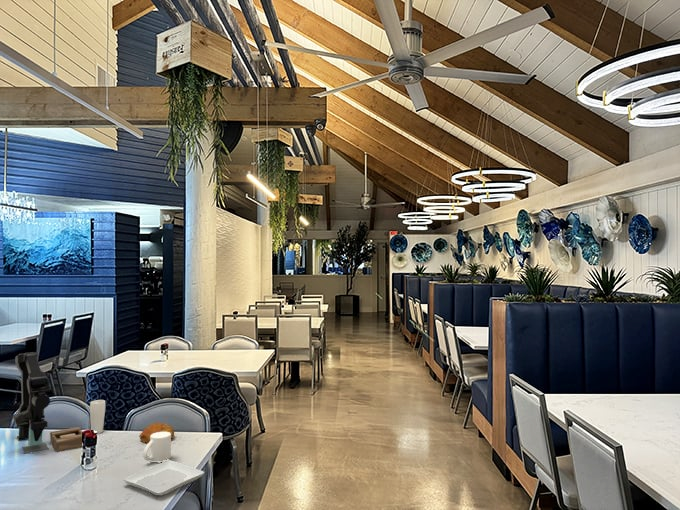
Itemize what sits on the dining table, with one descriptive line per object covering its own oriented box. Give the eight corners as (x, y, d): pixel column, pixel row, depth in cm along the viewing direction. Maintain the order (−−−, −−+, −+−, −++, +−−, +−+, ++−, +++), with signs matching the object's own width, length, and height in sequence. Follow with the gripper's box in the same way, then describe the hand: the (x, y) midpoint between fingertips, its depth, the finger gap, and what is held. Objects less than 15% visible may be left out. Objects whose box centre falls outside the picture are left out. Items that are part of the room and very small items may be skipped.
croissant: (160, 436, 237) (160, 419, 238) (179, 438, 228) (179, 421, 229) (133, 444, 226) (132, 426, 227) (152, 446, 217) (151, 428, 218)
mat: (21, 447, 214) (21, 447, 214) (45, 443, 219) (45, 442, 219) (24, 454, 207) (24, 453, 207) (48, 449, 212) (48, 448, 212)
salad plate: (158, 502, 166) (159, 492, 166) (121, 487, 177) (121, 477, 177) (205, 480, 184) (206, 471, 184) (169, 467, 195) (169, 459, 195)
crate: (50, 442, 221) (50, 431, 222) (79, 436, 229) (79, 426, 229) (56, 452, 209) (56, 441, 209) (86, 446, 217) (87, 436, 217)
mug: (175, 433, 204) (150, 441, 194) (174, 458, 204) (149, 467, 194) (163, 430, 209) (138, 437, 199) (162, 454, 208) (137, 463, 198)
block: (40, 441, 216) (40, 425, 217) (41, 443, 213) (42, 427, 213) (28, 443, 213) (29, 427, 214) (29, 446, 210) (30, 429, 210)
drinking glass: (98, 435, 231) (99, 403, 232) (85, 434, 233) (86, 402, 233) (107, 430, 238) (108, 400, 238) (95, 429, 239) (96, 399, 240)
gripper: (12, 402, 216) (11, 437, 215) (17, 412, 201) (16, 449, 201) (41, 398, 223) (40, 432, 222) (48, 407, 209) (47, 444, 208)
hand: (35, 439), depth 213 cm, fingers closed on block, 4 cm apart
